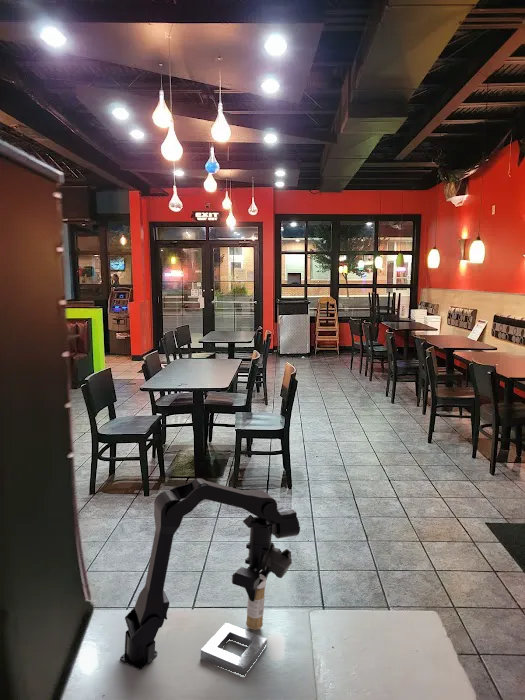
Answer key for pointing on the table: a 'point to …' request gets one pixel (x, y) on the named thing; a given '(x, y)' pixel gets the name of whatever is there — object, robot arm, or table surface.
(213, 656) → the metal collar
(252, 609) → the sprinkles bottle
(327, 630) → the table surface
